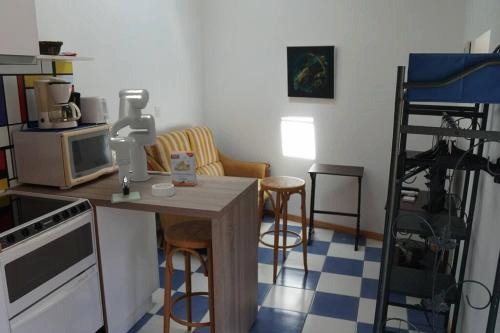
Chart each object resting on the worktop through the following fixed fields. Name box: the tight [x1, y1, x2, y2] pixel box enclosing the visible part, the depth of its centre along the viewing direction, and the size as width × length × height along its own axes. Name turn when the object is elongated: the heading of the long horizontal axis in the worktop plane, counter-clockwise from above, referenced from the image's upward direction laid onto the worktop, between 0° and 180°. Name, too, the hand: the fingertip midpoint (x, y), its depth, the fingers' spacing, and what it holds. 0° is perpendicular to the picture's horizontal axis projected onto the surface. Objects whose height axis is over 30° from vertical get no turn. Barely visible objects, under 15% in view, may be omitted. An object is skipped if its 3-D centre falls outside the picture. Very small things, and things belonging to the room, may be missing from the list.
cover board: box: [112, 184, 142, 204], centre depth 226 cm, size 14×14×7 cm
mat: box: [110, 192, 143, 204], centre depth 227 cm, size 14×16×1 cm
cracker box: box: [170, 150, 197, 187], centre depth 251 cm, size 14×6×21 cm, turn 84°
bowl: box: [151, 182, 175, 198], centre depth 233 cm, size 12×12×5 cm
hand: (126, 192), depth 226 cm, fingers open, 9 cm apart
